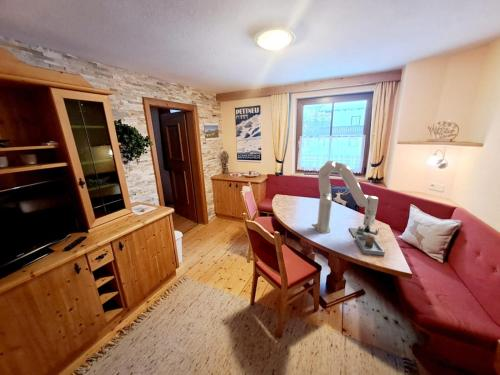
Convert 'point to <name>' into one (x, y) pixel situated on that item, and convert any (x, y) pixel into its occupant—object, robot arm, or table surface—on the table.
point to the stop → (369, 241)
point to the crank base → (354, 231)
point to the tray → (374, 250)
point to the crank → (369, 231)
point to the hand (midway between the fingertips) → (366, 232)
